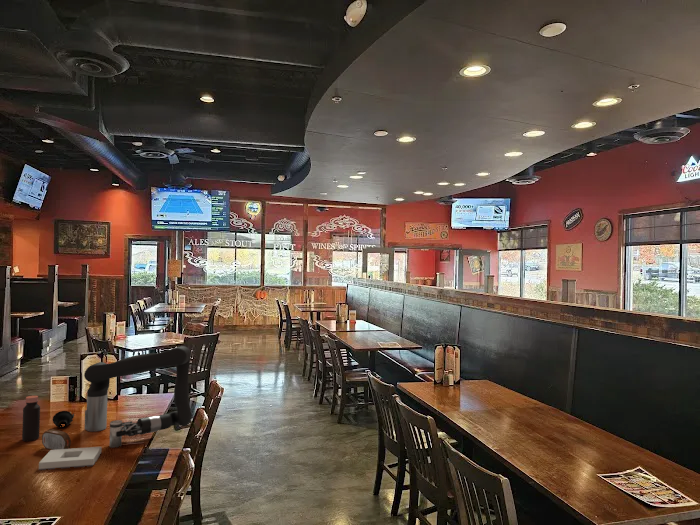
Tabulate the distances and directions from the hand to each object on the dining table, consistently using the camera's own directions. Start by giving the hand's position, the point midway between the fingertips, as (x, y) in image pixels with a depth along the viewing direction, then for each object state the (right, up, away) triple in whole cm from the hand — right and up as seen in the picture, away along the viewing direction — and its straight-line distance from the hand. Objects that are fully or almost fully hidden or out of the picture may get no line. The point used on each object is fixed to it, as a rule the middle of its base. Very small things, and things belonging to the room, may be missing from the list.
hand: (113, 432), depth 221 cm
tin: (-23, -6, -6) cm, 25 cm away
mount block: (-9, -6, -18) cm, 21 cm away
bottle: (-43, -6, +6) cm, 43 cm away
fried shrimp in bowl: (-39, -6, +28) cm, 49 cm away
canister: (+1, -7, +1) cm, 7 cm away
